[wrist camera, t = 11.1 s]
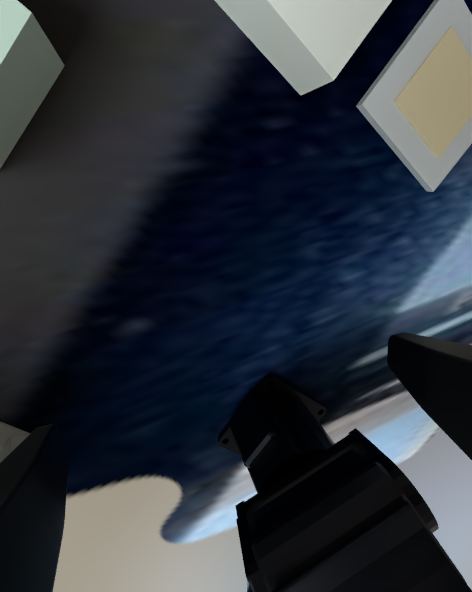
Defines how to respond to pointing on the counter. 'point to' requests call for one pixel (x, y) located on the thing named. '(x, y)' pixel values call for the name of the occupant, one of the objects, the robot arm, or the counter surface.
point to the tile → (427, 94)
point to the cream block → (306, 34)
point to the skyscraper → (10, 439)
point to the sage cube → (22, 71)
